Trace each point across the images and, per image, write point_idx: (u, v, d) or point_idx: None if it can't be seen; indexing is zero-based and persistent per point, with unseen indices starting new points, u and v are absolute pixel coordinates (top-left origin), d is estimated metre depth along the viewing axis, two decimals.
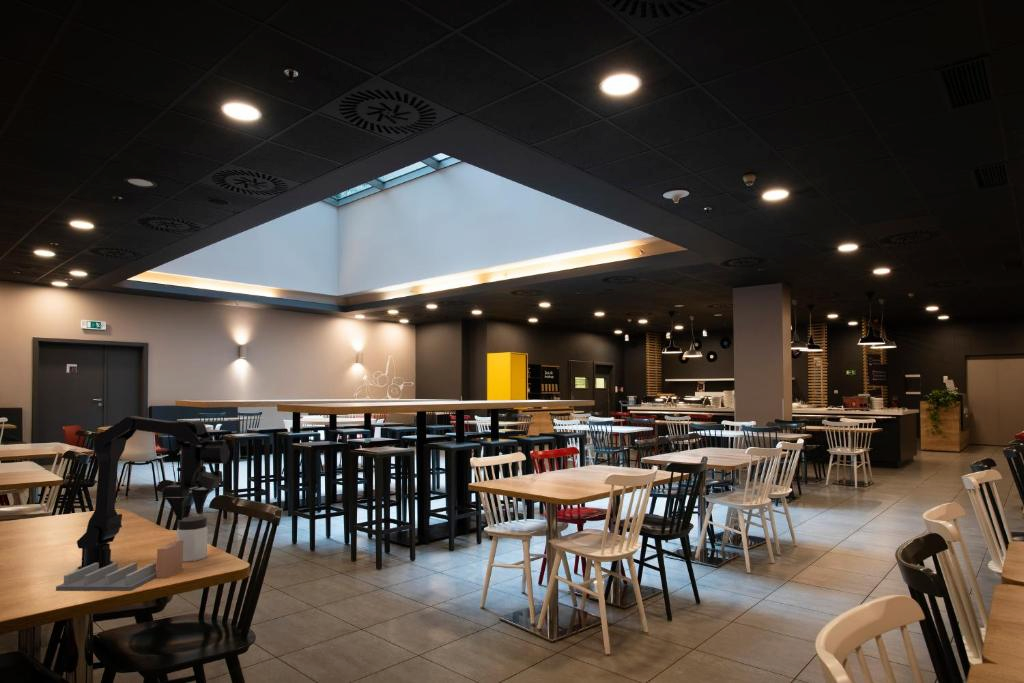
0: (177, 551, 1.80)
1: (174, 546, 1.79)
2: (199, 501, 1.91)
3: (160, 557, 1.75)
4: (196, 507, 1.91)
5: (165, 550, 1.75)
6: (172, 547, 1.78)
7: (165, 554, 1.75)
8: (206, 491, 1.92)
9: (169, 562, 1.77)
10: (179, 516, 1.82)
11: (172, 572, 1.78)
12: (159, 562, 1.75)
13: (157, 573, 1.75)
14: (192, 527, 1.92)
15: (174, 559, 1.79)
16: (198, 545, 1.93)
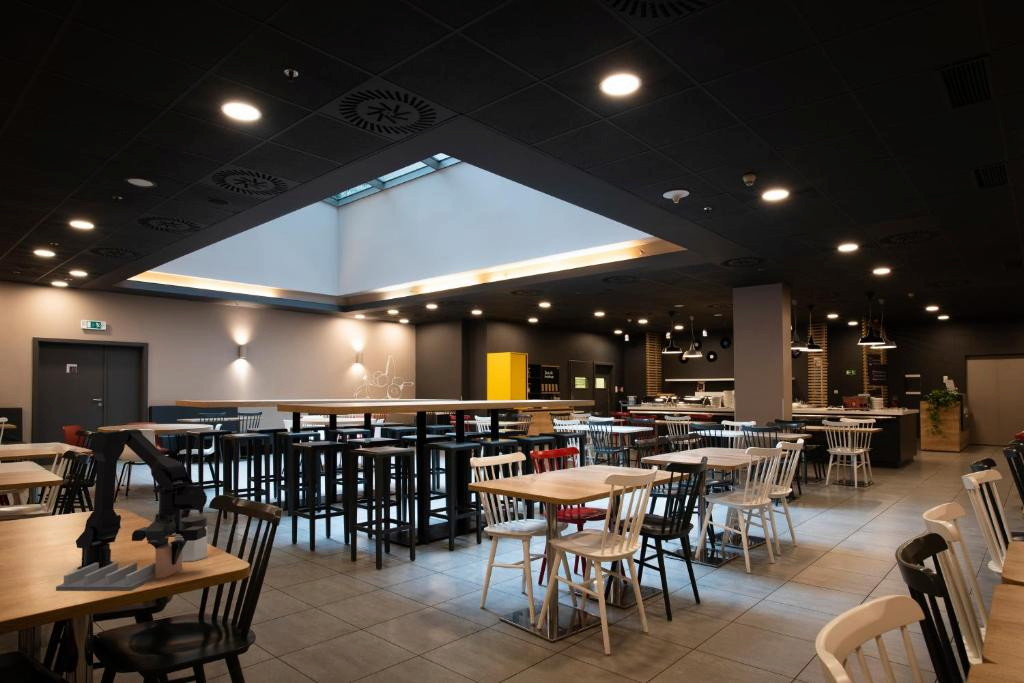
0: None
1: None
2: None
3: (158, 556, 1.75)
4: None
5: (163, 550, 1.75)
6: (170, 547, 1.78)
7: (163, 554, 1.75)
8: None
9: (168, 562, 1.77)
10: None
11: (171, 572, 1.78)
12: (158, 562, 1.75)
13: (156, 573, 1.75)
14: None
15: None
16: (198, 545, 1.93)
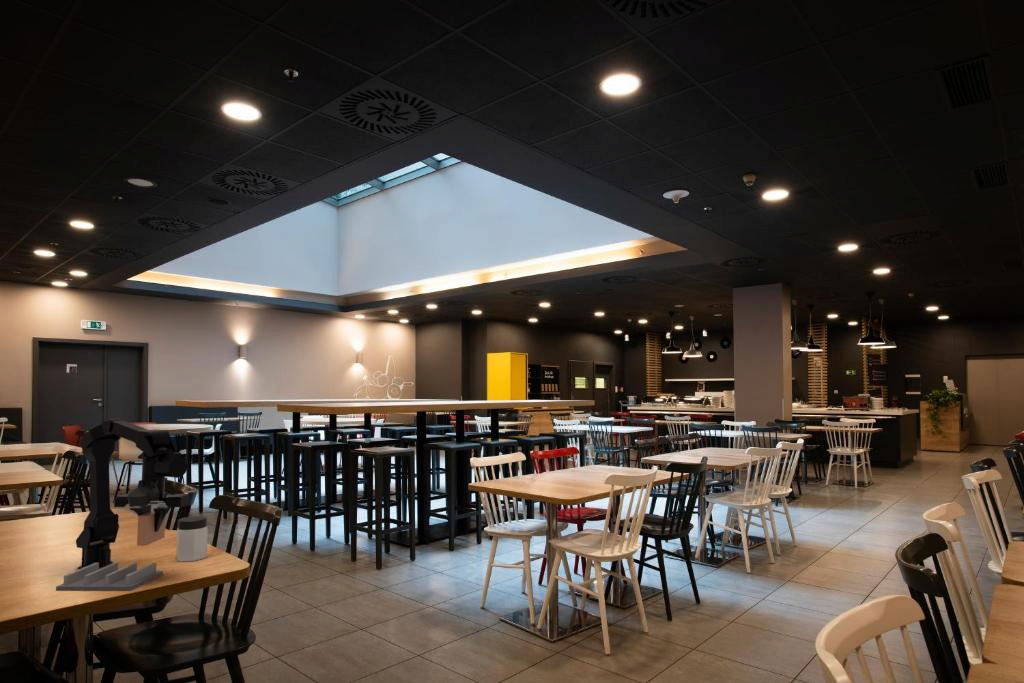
0: None
1: None
2: None
3: (141, 524, 1.73)
4: None
5: (146, 517, 1.73)
6: (153, 514, 1.76)
7: (146, 521, 1.73)
8: None
9: (151, 529, 1.75)
10: None
11: (153, 540, 1.76)
12: (140, 529, 1.73)
13: (138, 540, 1.73)
14: (192, 527, 1.92)
15: None
16: (198, 545, 1.93)
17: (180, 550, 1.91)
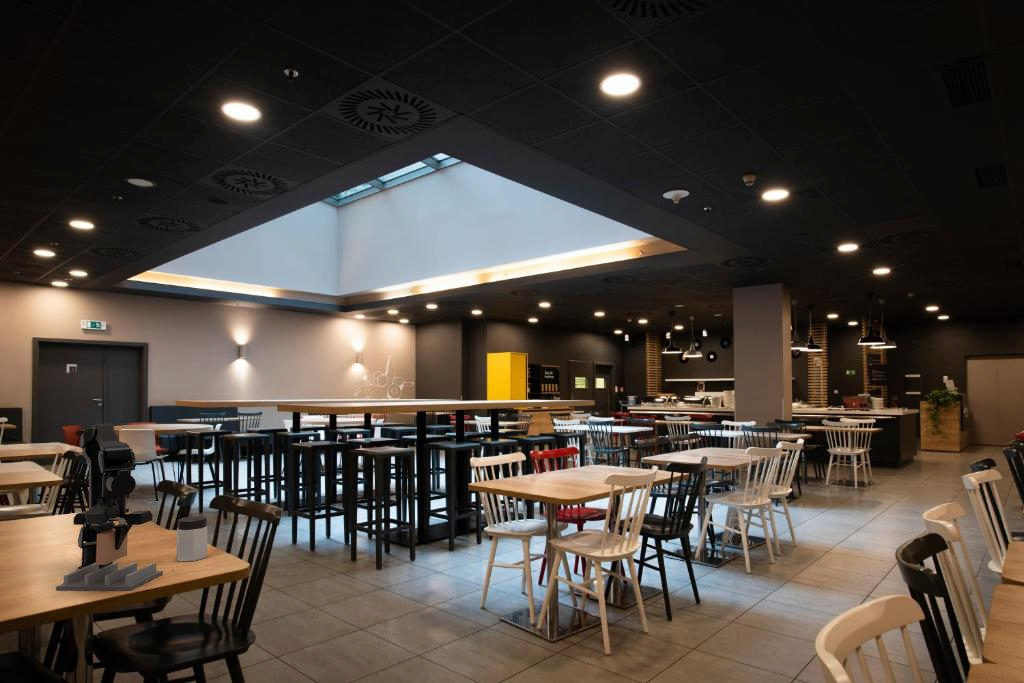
0: None
1: None
2: None
3: (100, 542, 1.68)
4: None
5: (105, 535, 1.68)
6: (113, 532, 1.71)
7: (105, 539, 1.68)
8: None
9: (110, 548, 1.70)
10: None
11: (114, 558, 1.71)
12: (99, 547, 1.68)
13: (97, 559, 1.67)
14: (192, 527, 1.92)
15: None
16: (198, 545, 1.93)
17: (180, 550, 1.91)
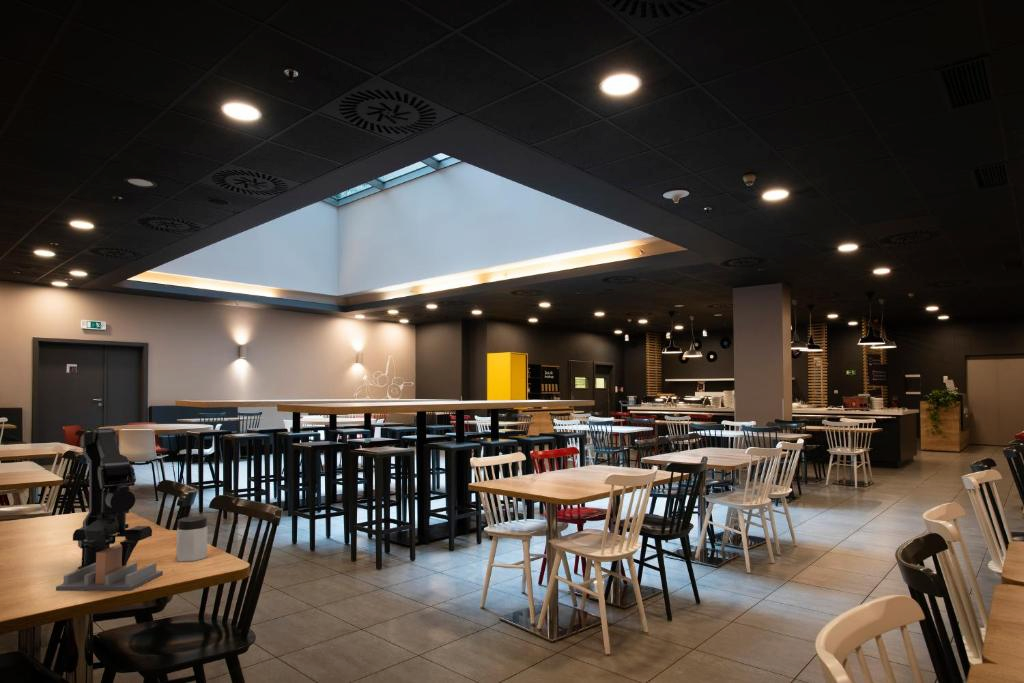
0: (119, 555, 1.73)
1: (115, 550, 1.71)
2: None
3: (99, 561, 1.67)
4: None
5: (104, 554, 1.67)
6: (113, 551, 1.70)
7: (104, 558, 1.67)
8: None
9: (110, 566, 1.69)
10: None
11: None
12: (98, 566, 1.67)
13: (96, 578, 1.67)
14: (192, 527, 1.92)
15: (115, 563, 1.71)
16: (198, 545, 1.93)
17: (180, 550, 1.91)
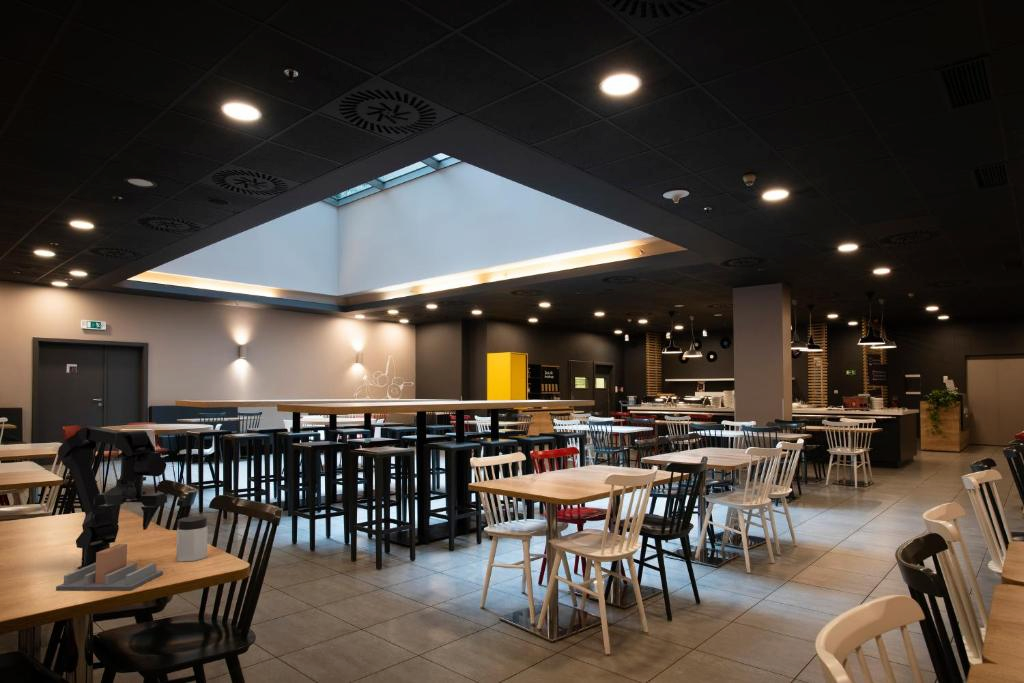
0: (119, 555, 1.73)
1: (115, 550, 1.71)
2: None
3: (99, 561, 1.67)
4: None
5: (104, 554, 1.67)
6: (113, 551, 1.70)
7: (104, 558, 1.67)
8: None
9: (110, 566, 1.69)
10: None
11: None
12: (98, 566, 1.67)
13: (96, 578, 1.67)
14: (192, 527, 1.92)
15: (115, 563, 1.71)
16: (198, 545, 1.93)
17: (180, 550, 1.91)
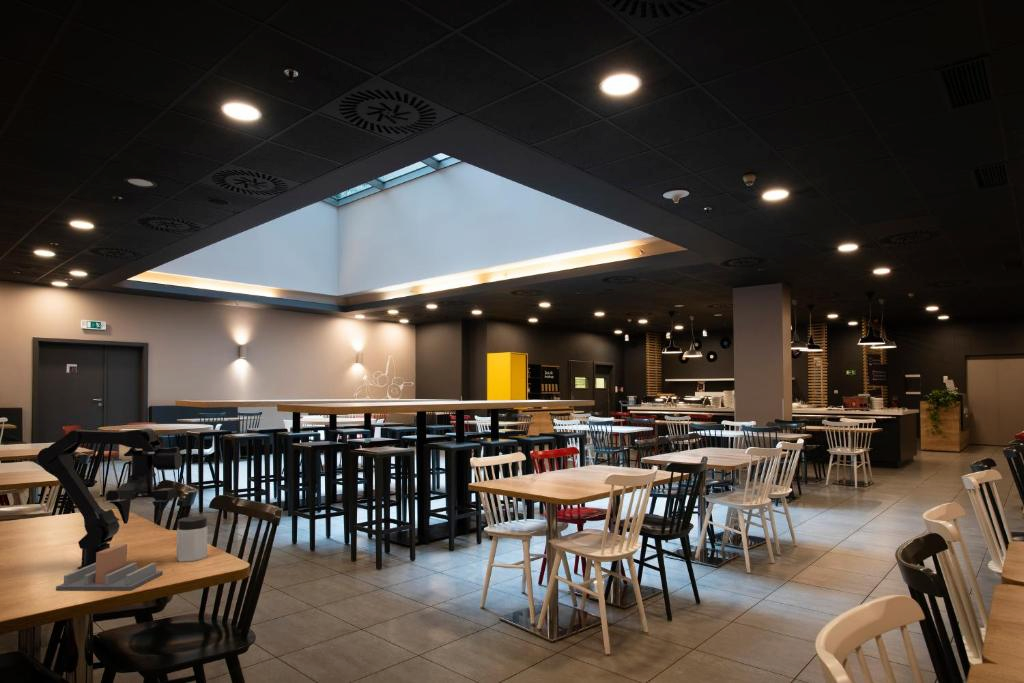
0: (119, 555, 1.73)
1: (115, 550, 1.71)
2: None
3: (99, 561, 1.67)
4: None
5: (104, 554, 1.67)
6: (113, 551, 1.70)
7: (104, 558, 1.67)
8: None
9: (110, 566, 1.69)
10: None
11: None
12: (98, 566, 1.67)
13: (96, 578, 1.67)
14: (192, 527, 1.92)
15: (115, 563, 1.71)
16: (198, 545, 1.93)
17: (180, 550, 1.91)
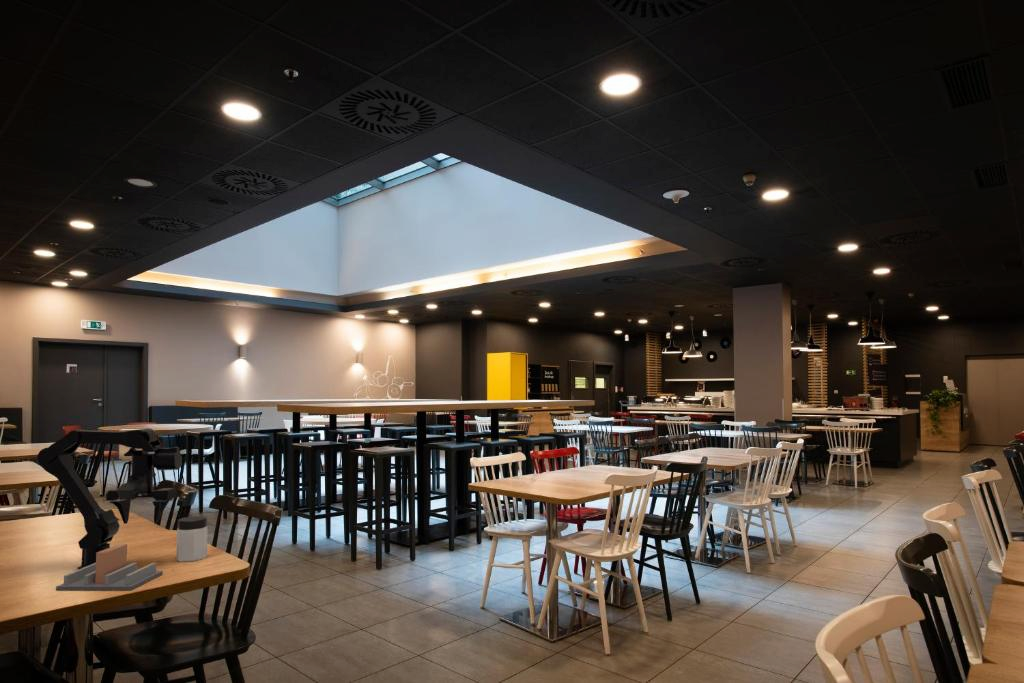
0: (119, 555, 1.73)
1: (115, 550, 1.71)
2: None
3: (99, 561, 1.67)
4: None
5: (104, 554, 1.67)
6: (113, 551, 1.70)
7: (104, 558, 1.67)
8: None
9: (110, 566, 1.69)
10: None
11: None
12: (98, 566, 1.67)
13: (96, 578, 1.67)
14: (192, 527, 1.92)
15: (115, 563, 1.71)
16: (198, 545, 1.93)
17: (180, 550, 1.91)
